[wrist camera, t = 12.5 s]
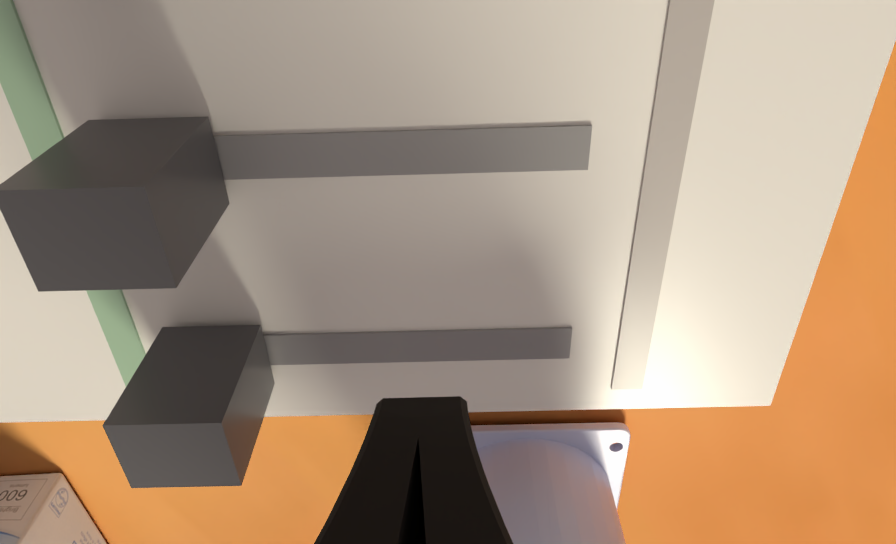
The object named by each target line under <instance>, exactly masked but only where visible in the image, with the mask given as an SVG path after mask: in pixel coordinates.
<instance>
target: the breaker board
mask: <svg viewBox="0 0 896 544" xmlns="http://www.w3.org/2000/svg"><path fill="white" fill-rule="evenodd" d="M895 41H896V0H0V184H1V183H3V182H4V181H6V180H7V179H8V178H10V177H11V176H12V175H14V174H15V173H17V172H18V171H19V170H21V169H22V168H23V167H25V166H26V165H27V164H29V163H30V162H32V161H33V160H34V159H36V158H37V157H38V156H40V155H41V154H42V153H44V152H45V151H47V150H48V149H49V148H51V147H52V146H53V145H55V144H56V143H58V142H59V141H60V140H62V139H63V138H64V137H66V136H67V135H68V134H70V133H71V132H73V131H74V130H75V129H77V128H78V127H79V126H81V125H82V124H84V123H85V122H86V121H88V120H104V119H139V118H173V117H208V116H209V120H210V124H211V128H212V132H213V137H214V141H215V145H216V149H217V153H218V157H219V161H220V166H221V170H222V174H223V178H224V182H225V186H226V190H227V194H228V199H229V203H230V204H229V205H228V207H227V209H226V210H225V212H224V213H223V215H222V216H221V218H220V220H219V221H218V223H217V224H216V226H215V228H214V229H213V231H212V232H211V234H210V236H209V237H208V239H207V240H206V242H205V244H204V245H203V247H202V248H201V250H200V251H199V253H198V255H197V256H196V258H195V259H194V261H193V263H192V264H191V266H190V267H189V269H188V271H187V272H186V274H185V275H184V277H183V278H182V280H181V282H180V283H179V285H178V286H177V288H163V289H123V290H83V291H43V292H38V290H37V288H36V285H35V283H34V281H33V279H32V277H31V275H30V273H29V270H28V268H27V266H26V264H25V262H24V260H23V257H22V255H21V253H20V251H19V249H18V247H17V245H16V242H15V240H14V238H13V236H12V234H11V232H10V229H9V227H8V225H7V223H6V221H5V219H4V217H3V214H2V212H1V210H0V422H46V421H91V420H106V419H107V418H108V416H109V414H110V413H111V411H112V409H113V408H114V406H115V404H116V403H117V401H118V399H119V398H120V396H121V395H122V393H123V391H124V390H125V388H126V386H127V385H128V383H129V381H130V380H131V378H132V376H133V375H134V373H135V371H136V370H137V368H138V366H139V365H140V363H141V362H142V360H143V358H144V357H145V355H146V353H147V352H148V350H149V348H150V347H151V345H152V343H153V342H154V340H155V338H156V337H157V335H158V334H159V332H160V330H161V329H162V327H184V326H226V325H261V328H262V332H263V336H264V340H265V345H266V349H267V353H268V357H269V361H270V365H271V370H272V374H273V378H274V382H275V384H274V387H273V390H272V393H271V397H270V400H269V403H268V406H267V409H266V412H265V415H264V417H274V416H320V415H365V414H374V411H375V407H376V404H377V403H378V402H379V401H380V400H382V399H383V398H413V397H453V396H460V397H462V398H463V399H464V400H466V401H467V406H468V412H503V411H548V410H594V409H640V408H685V407H731V406H770V405H771V402H772V399H773V396H774V394H775V391H776V388H777V385H778V382H779V379H780V376H781V373H782V370H783V367H784V364H785V361H786V359H787V356H788V353H789V350H790V347H791V344H792V341H793V338H794V335H795V332H796V329H797V326H798V324H799V321H800V318H801V315H802V312H803V309H804V306H805V303H806V300H807V297H808V294H809V291H810V289H811V286H812V283H813V280H814V277H815V274H816V271H817V268H818V265H819V262H820V259H821V257H822V254H823V251H824V248H825V245H826V242H827V239H828V236H829V233H830V230H831V227H832V224H833V222H834V219H835V216H836V213H837V210H838V207H839V204H840V201H841V198H842V195H843V192H844V189H845V187H846V184H847V181H848V178H849V175H850V172H851V169H852V166H853V163H854V160H855V157H856V154H857V152H858V149H859V146H860V143H861V140H862V137H863V134H864V131H865V128H866V125H867V122H868V119H869V117H870V114H871V111H872V108H873V105H874V102H875V99H876V96H877V93H878V90H879V87H880V84H881V82H882V79H883V76H884V73H885V70H886V67H887V64H888V61H889V58H890V55H891V52H892V49H893V47H894V44H895Z"/></svg>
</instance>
